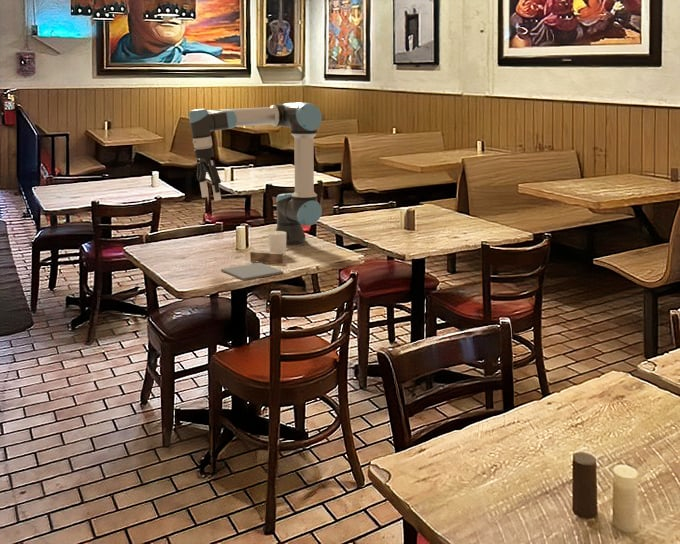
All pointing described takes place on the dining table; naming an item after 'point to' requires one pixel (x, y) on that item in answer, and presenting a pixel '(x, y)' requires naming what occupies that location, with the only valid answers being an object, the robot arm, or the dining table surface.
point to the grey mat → (251, 271)
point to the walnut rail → (266, 257)
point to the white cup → (277, 242)
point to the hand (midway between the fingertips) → (211, 198)
